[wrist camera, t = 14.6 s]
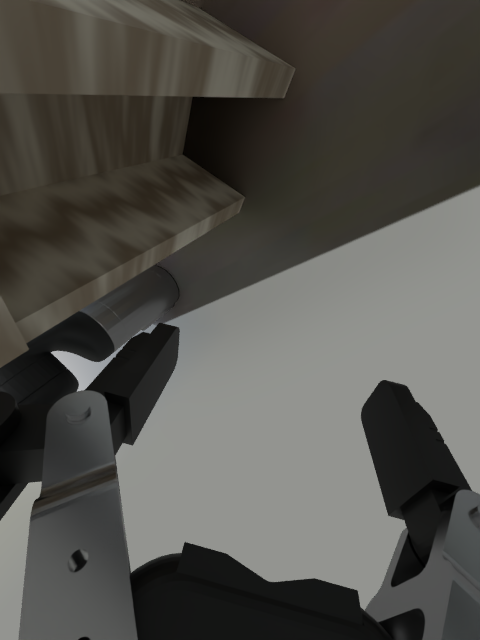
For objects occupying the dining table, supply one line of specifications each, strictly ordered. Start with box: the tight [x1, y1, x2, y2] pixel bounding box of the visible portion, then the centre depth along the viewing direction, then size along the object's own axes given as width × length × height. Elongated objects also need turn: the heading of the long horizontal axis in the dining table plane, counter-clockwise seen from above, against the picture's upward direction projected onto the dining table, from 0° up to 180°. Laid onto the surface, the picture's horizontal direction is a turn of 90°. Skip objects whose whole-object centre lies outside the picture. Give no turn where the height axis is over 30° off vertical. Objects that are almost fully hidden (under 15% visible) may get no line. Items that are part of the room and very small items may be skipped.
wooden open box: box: [0, 0, 296, 368], centre depth 20 cm, size 13×16×34 cm
